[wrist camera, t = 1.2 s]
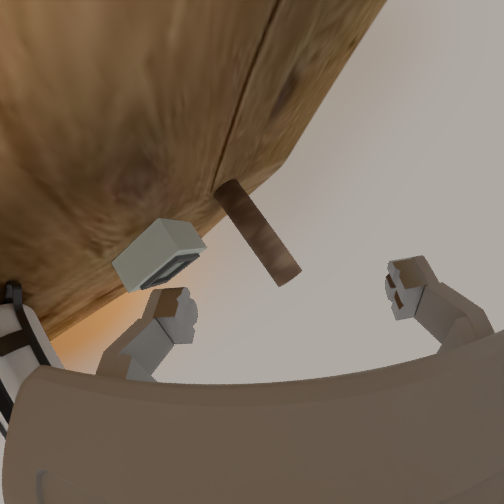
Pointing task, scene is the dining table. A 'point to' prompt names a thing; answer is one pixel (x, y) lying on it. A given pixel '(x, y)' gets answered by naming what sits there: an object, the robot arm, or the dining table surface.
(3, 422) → the coffee press
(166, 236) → the collar block
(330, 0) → the dining table surface
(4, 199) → the dining table surface
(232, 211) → the dowel
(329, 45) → the dining table surface
